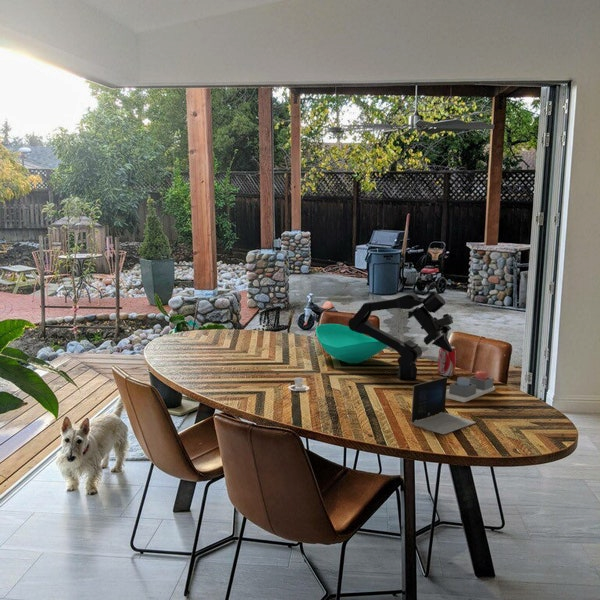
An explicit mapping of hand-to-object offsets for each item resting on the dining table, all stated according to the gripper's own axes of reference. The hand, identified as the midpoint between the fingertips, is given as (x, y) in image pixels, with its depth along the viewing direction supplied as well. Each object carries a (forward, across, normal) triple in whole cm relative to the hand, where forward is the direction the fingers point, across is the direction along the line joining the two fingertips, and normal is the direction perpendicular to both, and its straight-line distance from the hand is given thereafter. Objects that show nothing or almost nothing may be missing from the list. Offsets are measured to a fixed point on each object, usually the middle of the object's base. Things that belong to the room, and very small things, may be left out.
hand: (451, 351), depth 250 cm
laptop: (+18, -47, +2) cm, 50 cm away
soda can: (+6, +15, +14) cm, 21 cm away
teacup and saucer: (-23, -40, +44) cm, 64 cm away
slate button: (+14, -14, +2) cm, 20 cm away
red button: (+17, 0, 0) cm, 17 cm away
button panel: (+16, -6, +3) cm, 17 cm away
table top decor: (-24, +13, +43) cm, 51 cm away
